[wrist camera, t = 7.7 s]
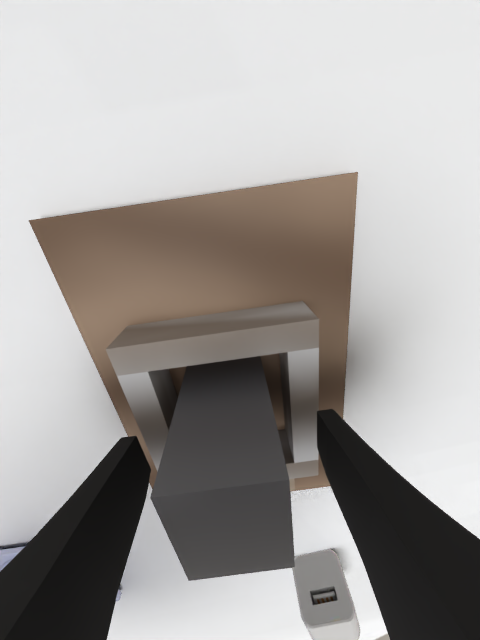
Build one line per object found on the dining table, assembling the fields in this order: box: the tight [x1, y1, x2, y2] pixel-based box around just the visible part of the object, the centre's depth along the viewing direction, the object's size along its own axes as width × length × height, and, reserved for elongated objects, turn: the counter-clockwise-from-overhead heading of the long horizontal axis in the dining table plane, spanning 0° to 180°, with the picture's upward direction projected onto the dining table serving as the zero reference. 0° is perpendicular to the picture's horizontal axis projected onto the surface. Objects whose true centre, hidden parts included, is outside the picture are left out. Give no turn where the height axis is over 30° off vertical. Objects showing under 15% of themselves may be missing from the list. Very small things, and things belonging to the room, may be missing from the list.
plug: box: [150, 356, 295, 581], centre depth 9 cm, size 4×3×6 cm
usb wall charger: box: [292, 549, 360, 640], centre depth 20 cm, size 4×7×4 cm, turn 17°
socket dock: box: [29, 172, 358, 491], centre depth 11 cm, size 18×12×3 cm, turn 8°
